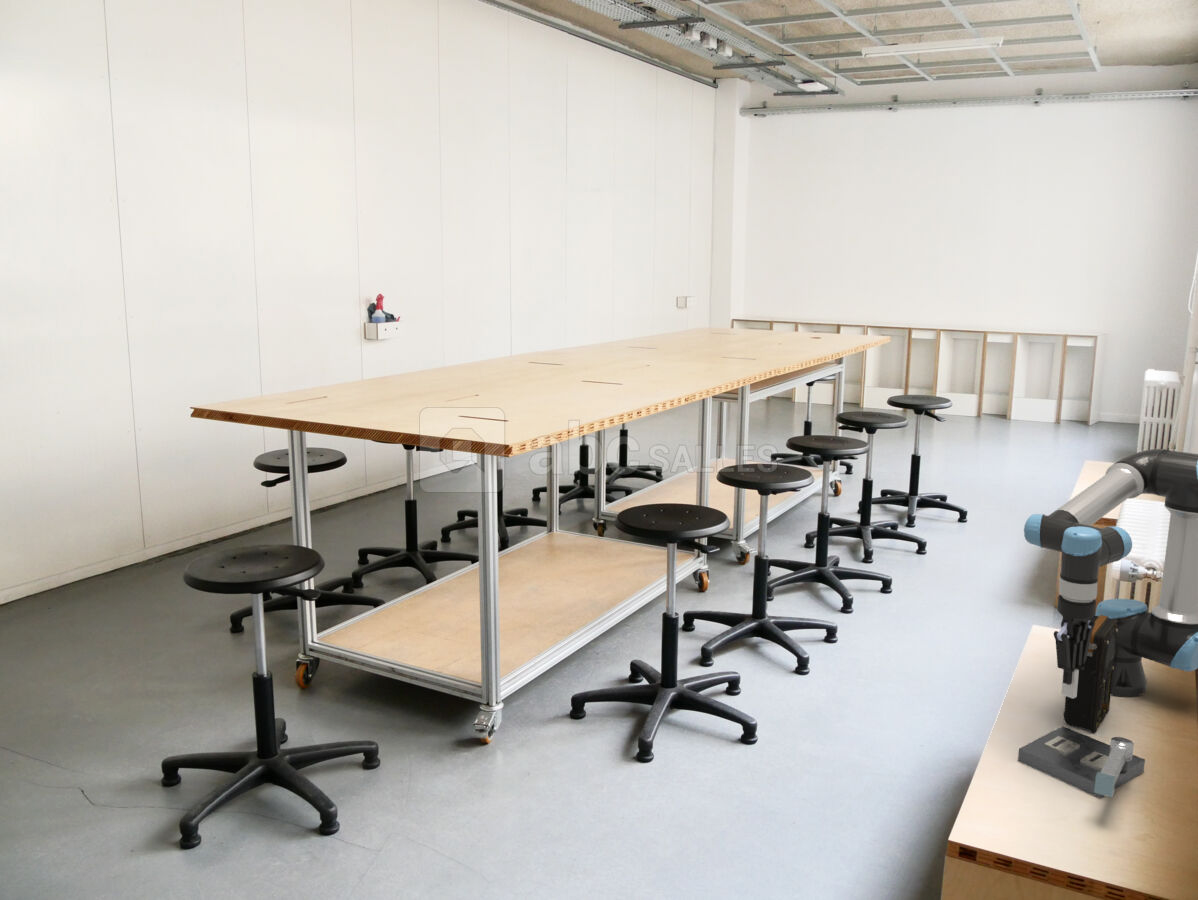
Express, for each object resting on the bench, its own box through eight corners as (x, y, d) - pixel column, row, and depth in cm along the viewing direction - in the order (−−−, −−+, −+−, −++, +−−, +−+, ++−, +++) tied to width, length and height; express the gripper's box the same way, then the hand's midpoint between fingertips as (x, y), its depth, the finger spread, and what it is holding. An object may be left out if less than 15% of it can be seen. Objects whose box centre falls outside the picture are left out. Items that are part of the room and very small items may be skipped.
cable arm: (1090, 791, 193) (1092, 775, 193) (1111, 749, 209) (1112, 734, 209) (1115, 798, 191) (1116, 782, 190) (1134, 755, 207) (1135, 740, 206)
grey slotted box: (1061, 737, 227) (1063, 714, 226) (1145, 772, 211) (1148, 747, 210) (1017, 760, 217) (1019, 736, 216) (1102, 799, 201) (1105, 773, 200)
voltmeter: (1098, 736, 227) (1108, 637, 222) (1059, 725, 233) (1068, 629, 228) (1113, 711, 239) (1123, 617, 234) (1076, 702, 245) (1084, 610, 240)
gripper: (1076, 585, 217) (1068, 681, 222) (1044, 598, 210) (1037, 697, 215) (1109, 595, 211) (1100, 693, 216) (1077, 608, 204) (1069, 710, 209)
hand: (1069, 695), depth 215 cm, fingers closed
